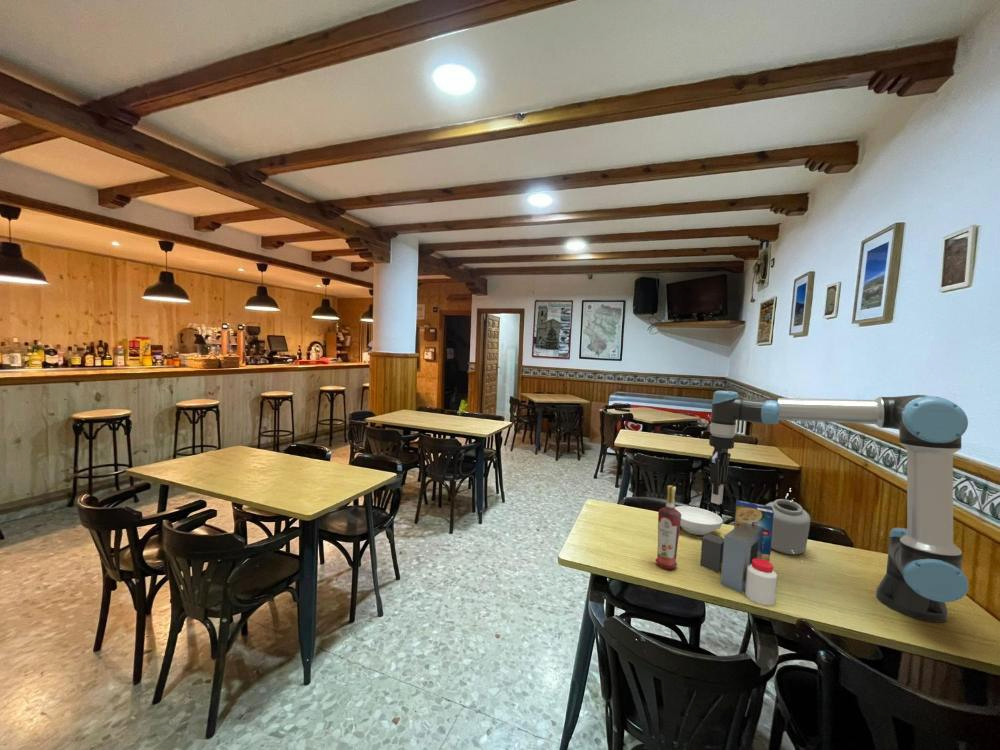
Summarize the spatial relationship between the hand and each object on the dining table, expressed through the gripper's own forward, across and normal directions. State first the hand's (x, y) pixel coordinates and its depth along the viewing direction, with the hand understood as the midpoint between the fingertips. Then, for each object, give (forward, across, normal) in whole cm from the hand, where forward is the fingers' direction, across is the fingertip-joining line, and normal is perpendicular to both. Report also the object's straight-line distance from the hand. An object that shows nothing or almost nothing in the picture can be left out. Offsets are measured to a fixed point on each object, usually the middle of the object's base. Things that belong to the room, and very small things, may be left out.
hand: (716, 502), depth 140 cm
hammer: (+23, 0, +8) cm, 24 cm away
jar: (+23, -37, +13) cm, 46 cm away
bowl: (+23, -26, -16) cm, 38 cm away
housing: (+23, 0, +10) cm, 25 cm away
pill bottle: (+23, +8, +17) cm, 30 cm away
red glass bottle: (+23, +13, -10) cm, 28 cm away
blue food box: (+23, -12, +8) cm, 27 cm away
